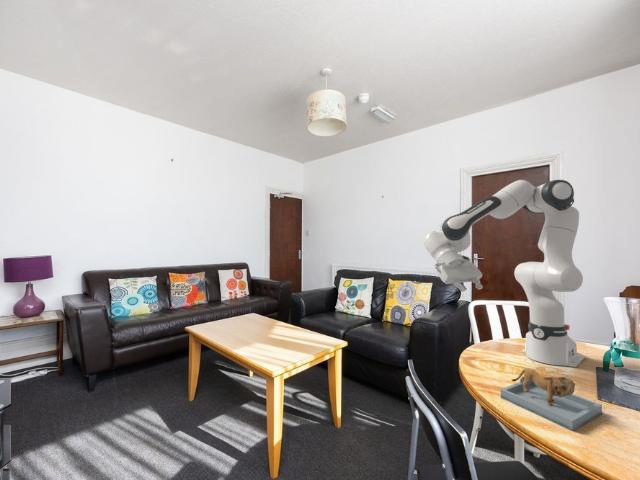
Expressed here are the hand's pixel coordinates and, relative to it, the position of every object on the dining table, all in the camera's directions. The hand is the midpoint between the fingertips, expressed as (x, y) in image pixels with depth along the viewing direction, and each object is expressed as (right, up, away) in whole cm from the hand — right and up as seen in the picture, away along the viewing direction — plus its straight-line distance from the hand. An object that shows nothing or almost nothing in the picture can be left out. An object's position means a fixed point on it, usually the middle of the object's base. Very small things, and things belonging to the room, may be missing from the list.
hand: (472, 289), depth 112 cm
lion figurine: (+7, -28, -26) cm, 38 cm away
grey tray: (+7, -29, -28) cm, 41 cm away
